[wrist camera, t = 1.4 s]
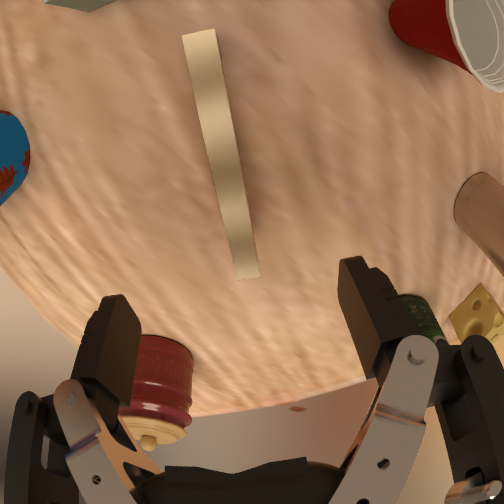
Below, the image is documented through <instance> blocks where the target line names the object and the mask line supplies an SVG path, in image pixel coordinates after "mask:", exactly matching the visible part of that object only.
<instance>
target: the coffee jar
mask: <svg viewBox="0 0 504 504" xmlns="http://www.w3.org/2000/svg"><path fill="white" fill-rule="evenodd" d="M400 299H401V301H402V302H403V304H404V306H405V308H406V310H407V312H408V314H409V315H410V317H411V319H412V321H413V323H414V325H415V327H416V329H417V331H418V332H419V334H420V335H421V336H424V337H426V338H428V339H430V340H431V341H432V342H433V343H434V344H436V345H449V343H448V341H447V339H446V337H445V335H444V333H443V331H442V329H441V327H440V326H439V323H438V322H437V319H436V318H435V316H434V313H433V312H432V310H431V308H430V306H429V304H428V303H427V301H425V300H423V299H421V298H418V297H413V296H403V297H400ZM431 406H435V405H434V403H428V405H427V408H428V407H431Z"/></svg>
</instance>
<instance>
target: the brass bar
mask: <svg viewBox="0 0 504 504" xmlns="http://www.w3.org/2000/svg"><path fill="white" fill-rule="evenodd" d="M182 39H183V44H184V49H185V54H186V59H187V63H188V68H189V73H190V78H191V82H192V87H193V92H194V96H195V101H196V106H197V110H198V115H199V119H200V124H201V128H202V133H203V137H204V142H205V146H206V150H207V155H208V159H209V163H210V168H211V172H212V176H213V181H214V185H215V189H216V193H217V197H218V202H219V206H220V210H221V214H222V218H223V222H224V226H225V231H226V235H227V239H228V243H229V247H230V251H231V255H232V259H233V263H234V267H235V271H236V275H237V279H238V280H244V279H250V278H256V277H260V271H259V264H258V258H257V252H256V245H255V239H254V233H253V226H252V221H251V215H250V210H249V204H248V199H247V193H246V188H245V182H244V177H243V171H242V166H241V160H240V155H239V149H238V144H237V138H236V133H235V127H234V122H233V117H232V111H231V106H230V100H229V97H228V93H227V88H226V82H225V77H224V72H223V66H222V58H221V52H220V47H219V42H218V38H217V35H216V32H215V29H209V30H204V31H199V32H195V33H190V34H186V35H182Z"/></svg>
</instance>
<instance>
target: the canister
mask: <svg viewBox="0 0 504 504" xmlns="http://www.w3.org/2000/svg"><path fill="white" fill-rule="evenodd" d="M192 374H193V361H192V356H191V354H190V352H189V351H188V350H187V349H186V348H185V347H183V346H182V345H180V344H179V343H177V342H175V341H172V340H170V339H166V338H163V337H158V336H141V339H140V345H139V350H138V356H137V362H136V368H135V374H134V381H133V388H132V395H131V402H130V408H127V407H119V412H118V414H119V415H120V416H121V417H122V419H123V421H124V423H125V424H126V426H127V428H128V429H129V431H130V433H131V434H132V436H133V437H134V439H135V440H139V441H140V445H141V447H142V448H143V449H144V450H147V451H153V450H155V448H156V447H157V444H169V443H174V442H175V441H177V440H179V439H181V438H183V437H185V435H186V431H185V430H184V428H185V427H187V426H189V425H190V424H191V422H192V418H191V416H190V415H189V407H190V406H191V405H192V398H191V391H192Z"/></svg>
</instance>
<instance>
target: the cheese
mask: <svg viewBox="0 0 504 504" xmlns="http://www.w3.org/2000/svg"><path fill="white" fill-rule="evenodd" d="M449 316H450V319H451V321H452V323H453V326H454V329H455V332H456V334H457V336H458V338H459V340H460V342H461V344H462V342H463V341H464V340H465V339H466V338H467V337H468V336H470V335H475V334H477V335H481V336H484V337H485V338H487V339H488V340H489V341H490V342H491V343H492V345H493V344H494V343H495V342H496V341H497V340H498V339H499V338H500V337H501V336H502V335H503V334H504V313H503V312H502V310H501V309H500V307H499V306H498V304H497V303H496V301H495V300H494V299H493V297H492V296H491V295H490V294H489V293H488V292H487V291H486V289H485V288H484V287H483V285H482V284H479V285H478V286H477V287H476V289H475V290H474V291H473V292H472V293H471V294H470V295H469V296H468V297H467V298H466V299H465V300H464V301H463V302H462V303H461V304H460V305H459V306H458V307H457V308H456V309H455V310H454V311H453V312H452V313H451V314H450V315H449Z"/></svg>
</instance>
